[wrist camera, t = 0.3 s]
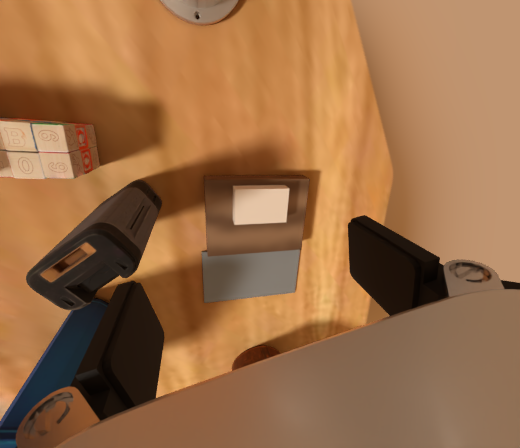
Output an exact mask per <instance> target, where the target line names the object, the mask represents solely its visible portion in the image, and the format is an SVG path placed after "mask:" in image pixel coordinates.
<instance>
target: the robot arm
mask: <svg viewBox="0 0 520 448" xmlns="http://www.w3.org/2000/svg"><path fill="white" fill-rule="evenodd" d="M160 1H161V3H162V4H163V5H164V6H165V7H166V8H167V9H168V10H169V11H170V12H171V13H172V14H174V15H175V16H177V17H178V18H180V19H181V20H183V21H186V22H188V23H191V24H195V25H210V24H214V23H217V22H219V21H221V20H222V19H224V18H225V17H226V16H228V15H229V14H230V13H231V12H232V10H233V9H234V7H235V6H236V4H237V2H238V0H160ZM196 16H199V19H196ZM348 237H349V263H350V273H351V276H352V277H353V279H354V280H355V281H356V282H357V283H358V284H359V285H360V286H361V287H362V288H363V289H364V290H365V291H366V292H367V293H368V294H369V295H370V296H371V297H372V298H373V299H374V300H375V301H376V302H377V303H378V304H379V305H380V306H381V307H382V308H383V309H384V310H385V311H386V312H387V313H388V314H389V315H390V316H389V317H386V318H383V319H380V320H377V321H374V322H371V323H368V324H365V325H363V326H360V327H357V328H354V329H351V330H348V331H345V332H342V333H339V334H336V335H333V336H330V337H328V338H325V339H322V340H319V341H316V342H313V343H310V344H307V345H305V346H302V347H299V348H296V349H293V350H290V351H287V352H285V353H282V354H279V355H276V356H273V357H270V358H267V359H264V360H262V361H259V362H256V363H253V364H250V365H247V366H245V367H242V368H239V369H236V370H233V371H231V372H228V373H225V374H222V375H219V376H217V377H214V378H211V379H208V380H205V381H202V382H200V383H197V384H194V385H191V386H188V387H186V388H183V389H180V390H177V391H175V392H172V393H169V394H166V395H164V396H161V397H158V398H156V391H157V385H158V378H159V371H160V364H161V357H162V350H163V343H164V331H163V328H162V326H161V324H160V322H159V320H158V318H157V316H156V314H155V312H154V310H153V308H152V306H151V304H150V301H149V299H148V297H147V295H146V293H145V291H144V289H143V287H142V285H141V284H140V283H136V282H135V281H130V282H127V283H123V284H119V285H118V286H117V287H116V290H115V292H114V294H113V296H112V298H111V300H110V302H109V304H108V306H107V309H106V311H105V313H104V315H103V317H102V319H101V321H100V323H99V325H98V328H97V330H96V332H95V334H94V336H93V338H92V340H91V342H90V344H89V346H88V349H87V351H86V353H85V355H84V357H83V359H82V361H81V363H80V365H79V368H78V370H77V372H76V374H75V377H74V379H73V381H72V383H71V385H70V387H65V388H61V389H59V390H57V391H54V392H52V393H51V394H49V395H48V396H46V397H45V398H43V399H42V400H41V401H40V402H39V403H37V404H36V405H35V406H34V407H33V408H32V409H31V410H30V411H29V413H28V414H27V415H26V416H25V417H24V419H23V420H22V422H21V423H20V425H19V427H18V430H17V432H16V444H17V447H15V448H520V283H516V282H509V281H503V280H500V279H499V277H498V275H497V273H496V272H495V271H494V270H493V269H491V268H490V267H488V266H486V265H484V264H482V263H478V262H475V261H470V260H452V261H449V262H447V263H446V264H445V265H442V264H440V263H439V260H440V258H439V257H437V256H436V255H434V254H432V253H430V252H429V251H427V250H425V249H423V248H422V247H420V246H418V245H416V244H415V243H413V242H411V241H409V240H407V239H406V238H404V237H402V236H401V235H399V234H397V233H395V232H394V231H392V230H390V229H388V228H386V227H385V226H383V225H381V224H379V223H378V222H376V221H374V220H372V219H371V218H369V217H367V216H365V215H364V216H360V217H356V218H353V219H352V220H351V222H350V223H349V224H348Z"/></svg>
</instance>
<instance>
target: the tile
mask: <svg viewBox="0 0 520 448" xmlns="http://www.w3.org/2000/svg"><path fill="white" fill-rule="evenodd" d="M288 199H289V188H288V187H287V186H285V185H245V186H233V222H234V225H243V224H264V223H284V222H286V220H287V210H288Z"/></svg>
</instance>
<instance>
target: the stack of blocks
mask: <svg viewBox="0 0 520 448" xmlns="http://www.w3.org/2000/svg"><path fill="white" fill-rule="evenodd" d="M98 167H100V163H99V157H98V151H97V143H96V137H95V131H94V127H93V124H78V123H68V122H60V121H46V120H33V119H21V118H0V177H14V178H23V179H46V178H66V179H74V178H76V177H78V176H80V175H82V174H87V173H89V172H90V171H92V170H94V169H96V168H98Z"/></svg>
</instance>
